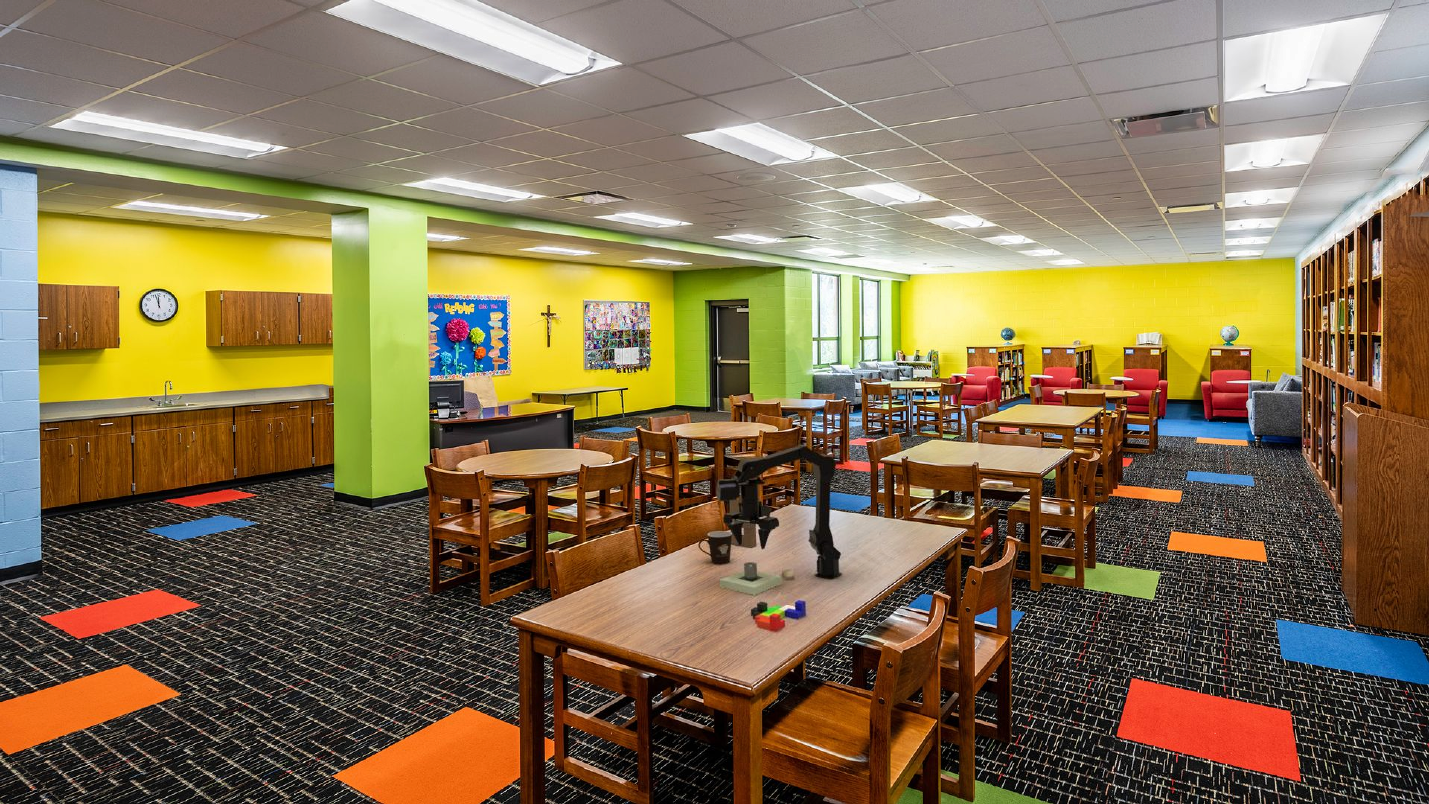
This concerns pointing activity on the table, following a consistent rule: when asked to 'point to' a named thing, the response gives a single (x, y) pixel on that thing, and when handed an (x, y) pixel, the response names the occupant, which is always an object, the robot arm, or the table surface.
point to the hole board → (755, 587)
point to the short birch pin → (788, 574)
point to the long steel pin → (750, 571)
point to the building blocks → (776, 614)
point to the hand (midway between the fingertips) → (751, 547)
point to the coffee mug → (719, 546)
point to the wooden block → (749, 529)
